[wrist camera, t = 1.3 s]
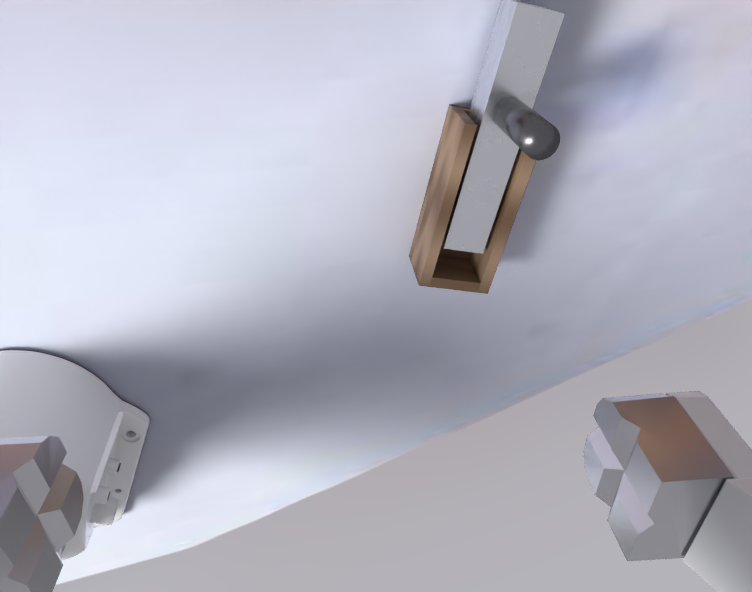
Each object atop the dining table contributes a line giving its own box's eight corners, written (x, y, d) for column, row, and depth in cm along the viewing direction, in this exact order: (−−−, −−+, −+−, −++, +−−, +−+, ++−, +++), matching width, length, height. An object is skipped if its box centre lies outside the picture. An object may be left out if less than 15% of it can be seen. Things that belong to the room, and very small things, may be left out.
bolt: (472, 235, 43) (507, 298, 36) (435, 229, 43) (463, 293, 35) (546, 7, 35) (612, 28, 27) (501, -3, 34) (557, 15, 27)
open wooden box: (472, 264, 46) (487, 293, 42) (409, 255, 45) (418, 285, 41) (521, 118, 40) (544, 137, 36) (449, 104, 39) (465, 123, 35)
